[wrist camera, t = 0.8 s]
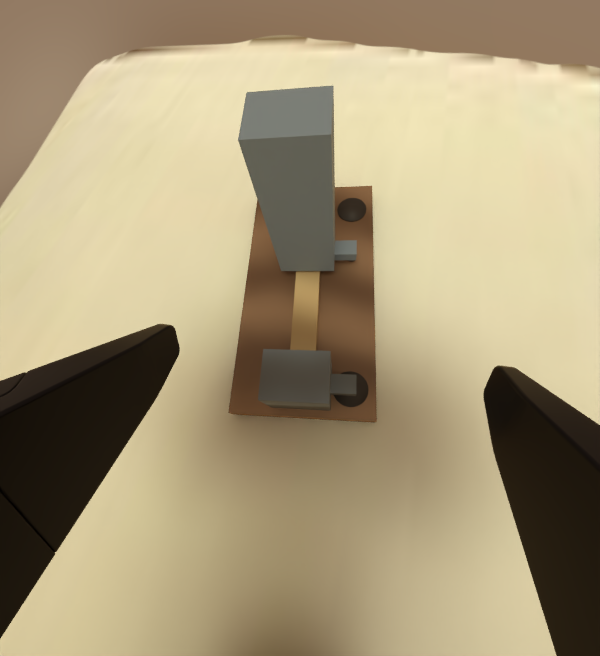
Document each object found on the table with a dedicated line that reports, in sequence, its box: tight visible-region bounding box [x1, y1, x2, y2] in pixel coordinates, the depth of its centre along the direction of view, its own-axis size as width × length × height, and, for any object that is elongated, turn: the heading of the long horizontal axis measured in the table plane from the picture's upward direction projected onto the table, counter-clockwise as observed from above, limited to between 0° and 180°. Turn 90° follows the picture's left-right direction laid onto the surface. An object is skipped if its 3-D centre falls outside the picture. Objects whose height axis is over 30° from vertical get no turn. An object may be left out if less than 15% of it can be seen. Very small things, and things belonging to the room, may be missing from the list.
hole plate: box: [229, 186, 377, 422], centre depth 23 cm, size 20×10×5 cm, turn 176°
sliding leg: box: [238, 86, 357, 271], centre depth 19 cm, size 3×6×12 cm, turn 86°
